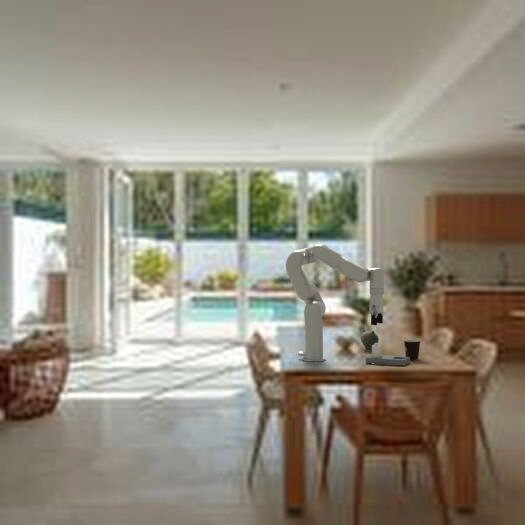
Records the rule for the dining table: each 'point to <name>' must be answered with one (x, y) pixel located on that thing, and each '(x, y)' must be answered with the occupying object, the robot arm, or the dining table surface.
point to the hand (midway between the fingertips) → (376, 324)
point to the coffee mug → (412, 348)
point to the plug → (377, 350)
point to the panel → (388, 360)
